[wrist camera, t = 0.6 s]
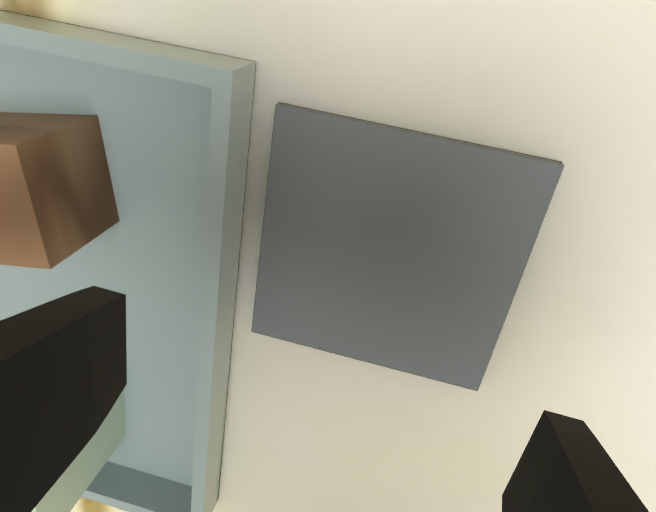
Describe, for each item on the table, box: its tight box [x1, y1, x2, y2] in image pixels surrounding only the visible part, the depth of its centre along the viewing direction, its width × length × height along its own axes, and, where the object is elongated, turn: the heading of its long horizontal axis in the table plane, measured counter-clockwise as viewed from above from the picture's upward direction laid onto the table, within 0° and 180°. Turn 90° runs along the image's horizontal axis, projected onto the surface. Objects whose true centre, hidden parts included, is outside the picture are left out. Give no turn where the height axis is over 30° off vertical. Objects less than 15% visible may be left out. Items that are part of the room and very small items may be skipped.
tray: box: [0, 10, 256, 512], centre depth 22 cm, size 21×14×2 cm
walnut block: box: [0, 112, 120, 269], centre depth 18 cm, size 4×4×4 cm
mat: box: [251, 102, 564, 391], centre depth 19 cm, size 9×9×1 cm
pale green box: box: [32, 389, 126, 512], centre depth 23 cm, size 4×4×6 cm
